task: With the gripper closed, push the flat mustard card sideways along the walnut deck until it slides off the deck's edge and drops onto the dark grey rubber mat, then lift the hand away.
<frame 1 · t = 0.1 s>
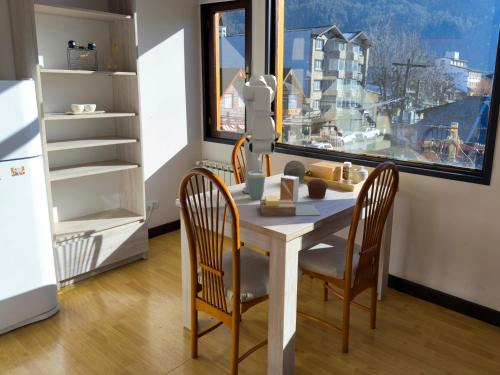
hand: (261, 151, 192), 31 cm above the table, tool pointing down, fingers open, 9 cm apart
deck: (277, 210, 207), on the table
small box: (289, 200, 226), on the table
disposable coffee cup: (255, 198, 229), on the table
cantaloupe: (294, 184, 262), on the table
mat: (305, 210, 208), on the table
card: (271, 203, 206), point 4 cm above the table, touching deck
muffin: (316, 196, 234), on the table
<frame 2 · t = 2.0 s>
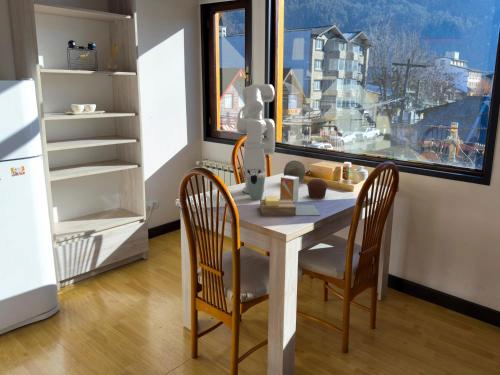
hand: (253, 183, 202), 14 cm above the table, tool pointing down, fingers closed
nothing on the table moved.
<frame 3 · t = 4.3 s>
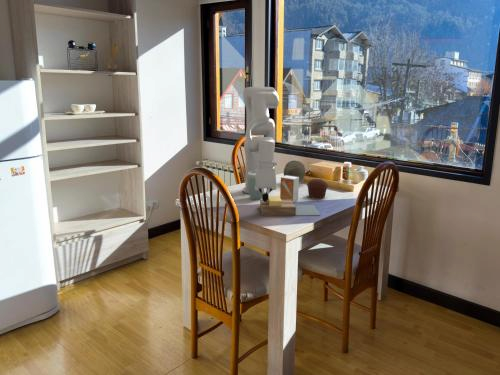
hand: (265, 201, 206), 5 cm above the table, tool pointing down, fingers closed
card: (274, 203, 206), point 4 cm above the table, touching gripper
everything else where it was.
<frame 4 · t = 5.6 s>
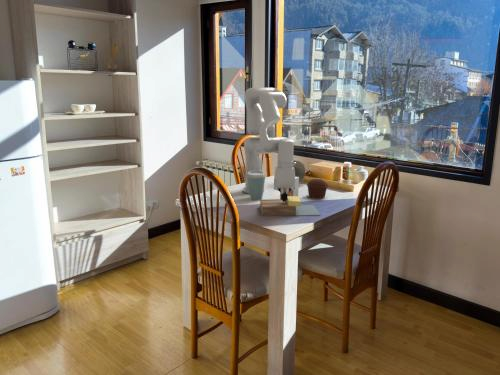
hand: (284, 201, 206), 5 cm above the table, tool pointing down, fingers closed
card: (293, 203, 206), point 4 cm above the table, touching deck, gripper
everything else where it was.
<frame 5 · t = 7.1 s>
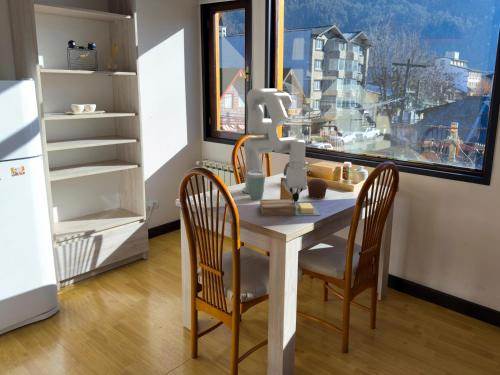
hand: (295, 201, 207), 5 cm above the table, tool pointing down, fingers closed
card: (306, 205, 207), point 3 cm above the table, tilted 180°, touching mat
everything else where it was.
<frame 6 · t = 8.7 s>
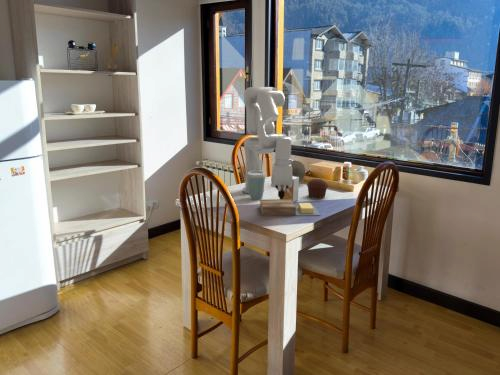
hand: (281, 198, 207), 6 cm above the table, tool pointing down, fingers closed
nothing on the table moved.
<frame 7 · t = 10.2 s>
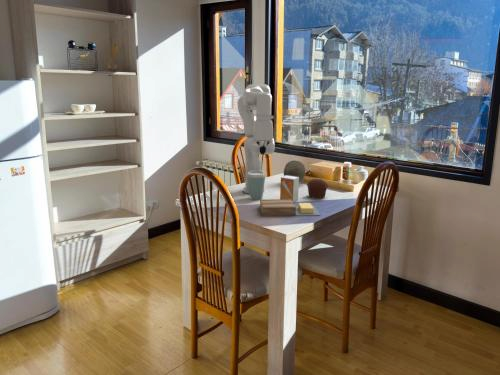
hand: (262, 154, 213), 26 cm above the table, tool pointing down, fingers closed
nothing on the table moved.
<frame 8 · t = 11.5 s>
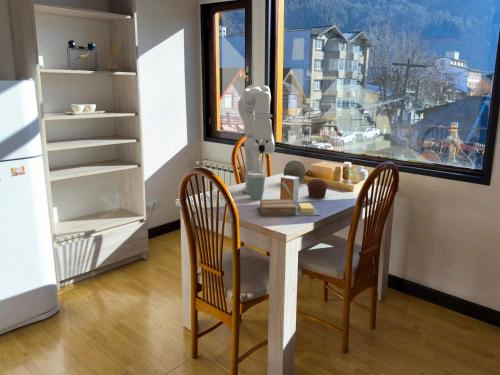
hand: (261, 152, 214), 27 cm above the table, tool pointing down, fingers closed
nothing on the table moved.
at the end: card point 2.9 cm above the table; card inside the target area on the mat (0.9 cm from its centre), point 2.9 cm above the mat's base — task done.
